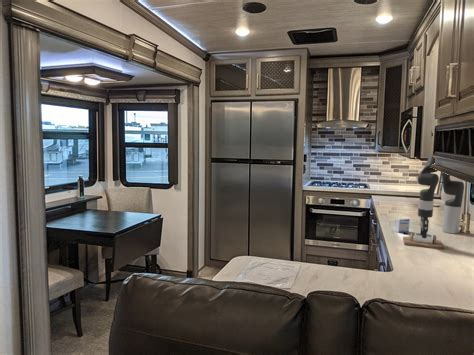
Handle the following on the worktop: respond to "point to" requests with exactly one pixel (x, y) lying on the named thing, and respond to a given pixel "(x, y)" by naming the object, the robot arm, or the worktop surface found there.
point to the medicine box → (401, 225)
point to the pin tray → (435, 243)
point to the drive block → (423, 240)
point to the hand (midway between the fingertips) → (423, 236)
